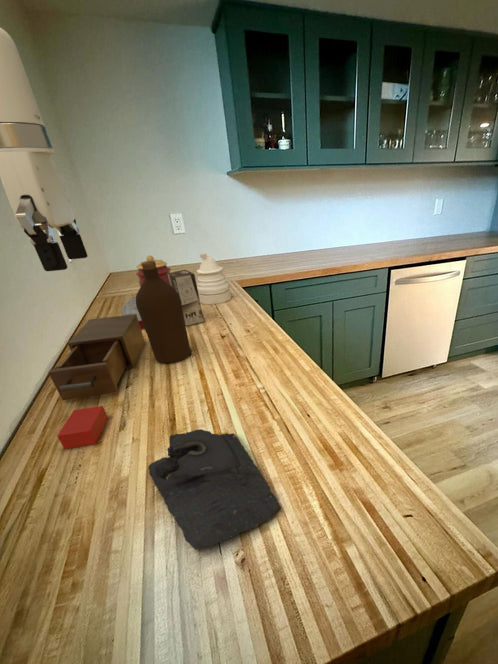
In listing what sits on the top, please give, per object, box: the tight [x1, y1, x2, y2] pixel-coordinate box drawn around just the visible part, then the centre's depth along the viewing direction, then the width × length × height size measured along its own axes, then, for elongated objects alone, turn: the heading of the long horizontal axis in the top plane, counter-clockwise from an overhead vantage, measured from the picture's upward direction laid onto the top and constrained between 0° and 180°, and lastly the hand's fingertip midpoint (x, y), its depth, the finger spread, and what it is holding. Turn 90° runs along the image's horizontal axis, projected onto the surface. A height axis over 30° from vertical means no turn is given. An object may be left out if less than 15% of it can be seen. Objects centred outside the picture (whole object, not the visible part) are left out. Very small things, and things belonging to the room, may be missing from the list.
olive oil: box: [135, 260, 192, 364], centre depth 86 cm, size 11×11×25 cm
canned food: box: [120, 296, 145, 330], centre depth 114 cm, size 11×10×10 cm
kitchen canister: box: [135, 255, 172, 288], centre depth 134 cm, size 13×13×18 cm
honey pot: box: [196, 252, 232, 305], centre depth 131 cm, size 13×13×18 cm
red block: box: [56, 405, 109, 450], centre depth 64 cm, size 8×6×3 cm
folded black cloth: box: [147, 428, 282, 551], centre depth 51 cm, size 15×22×5 cm
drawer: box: [47, 340, 128, 401], centre depth 78 cm, size 19×11×7 cm, turn 12°
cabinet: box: [67, 314, 146, 370], centre depth 91 cm, size 17×13×9 cm
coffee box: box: [167, 269, 205, 327], centre depth 112 cm, size 9×6×16 cm
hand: (68, 263), depth 57 cm, fingers open, 9 cm apart
